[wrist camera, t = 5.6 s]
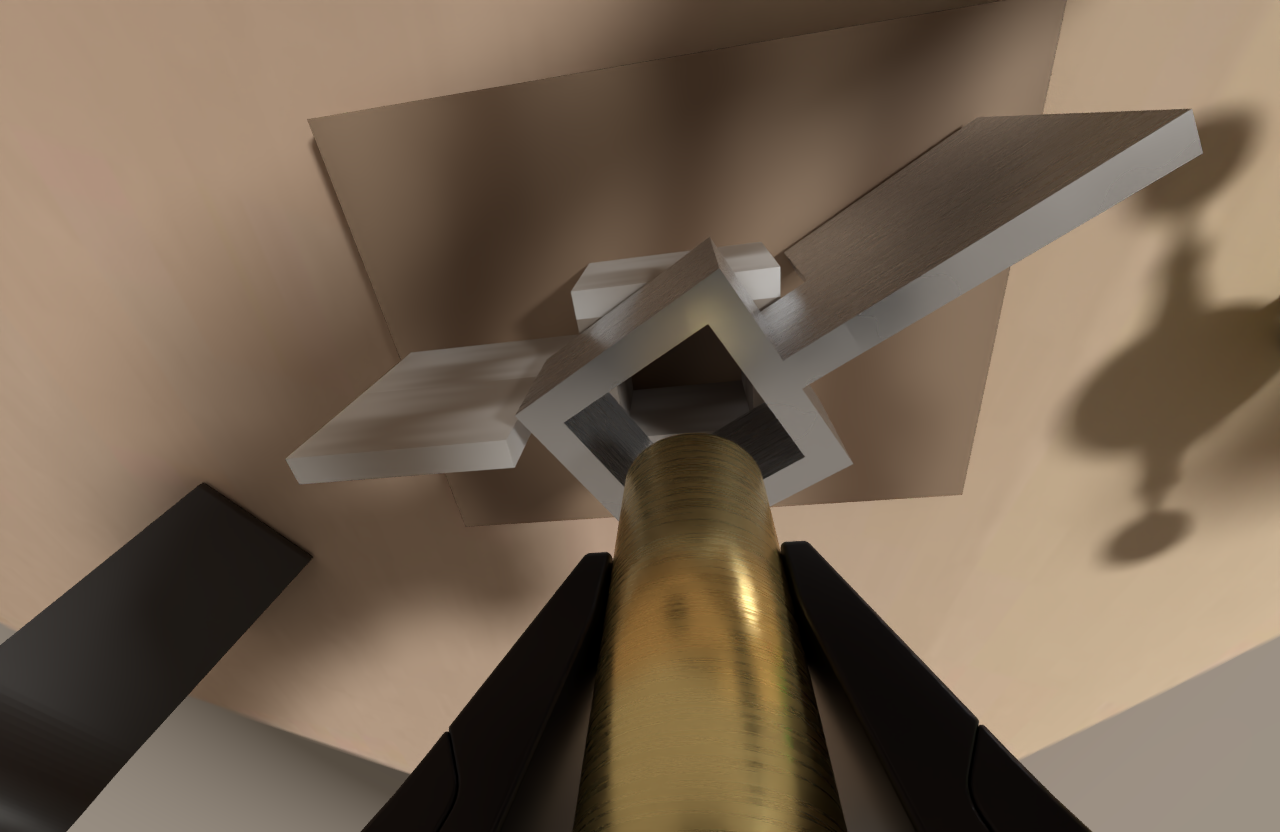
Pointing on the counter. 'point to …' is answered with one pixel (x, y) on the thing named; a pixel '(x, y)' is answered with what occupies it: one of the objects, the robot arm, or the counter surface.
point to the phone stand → (128, 652)
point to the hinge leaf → (849, 287)
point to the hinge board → (660, 248)
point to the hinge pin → (702, 661)
